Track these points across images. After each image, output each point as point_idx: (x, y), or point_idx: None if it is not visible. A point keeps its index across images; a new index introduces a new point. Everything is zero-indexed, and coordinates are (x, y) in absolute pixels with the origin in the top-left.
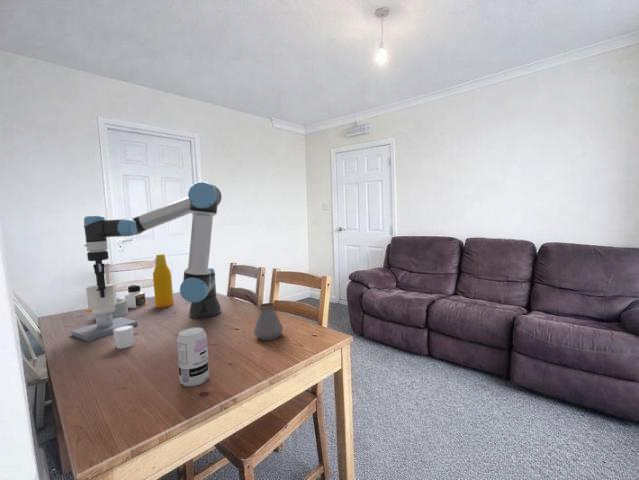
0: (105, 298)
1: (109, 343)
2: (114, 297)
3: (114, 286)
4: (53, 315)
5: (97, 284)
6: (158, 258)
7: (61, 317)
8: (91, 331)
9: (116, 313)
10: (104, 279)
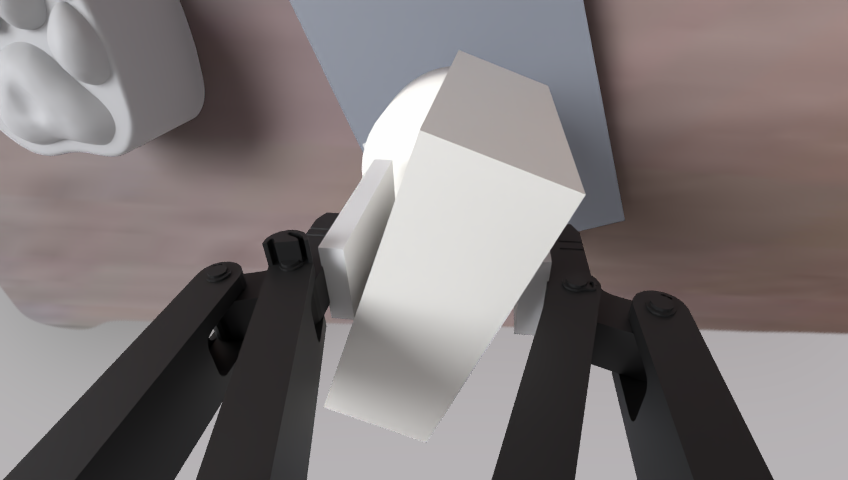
0: None
1: (805, 111)
2: (532, 102)
3: (488, 139)
4: (3, 287)
5: (320, 353)
6: None
7: (52, 265)
8: None
9: (161, 12)
10: (758, 456)
